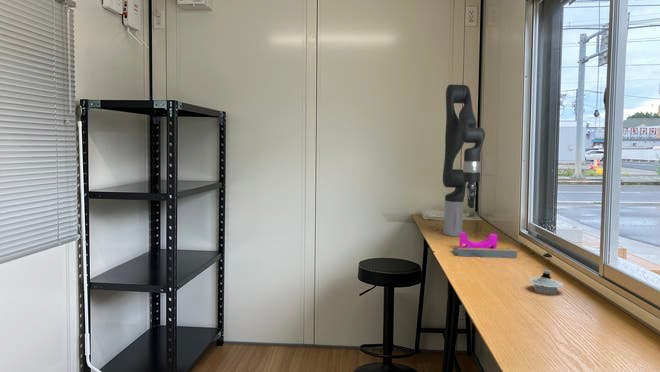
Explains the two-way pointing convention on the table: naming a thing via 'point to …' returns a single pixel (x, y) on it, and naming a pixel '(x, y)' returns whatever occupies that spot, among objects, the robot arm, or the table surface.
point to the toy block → (486, 243)
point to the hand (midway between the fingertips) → (470, 207)
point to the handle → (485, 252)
